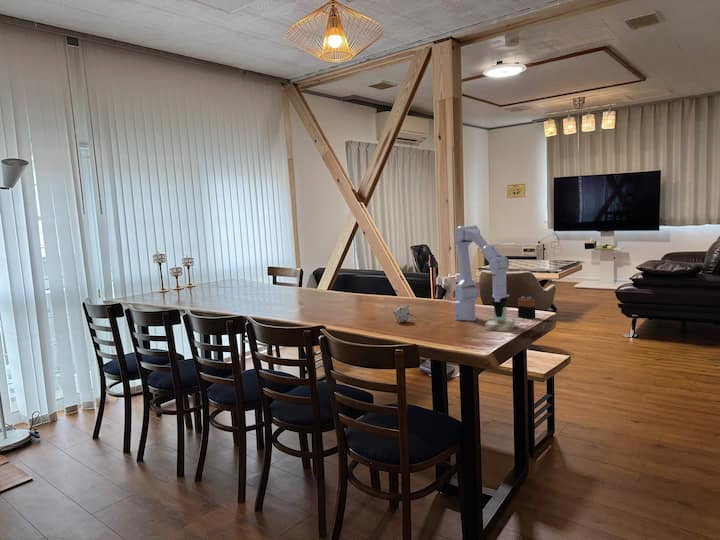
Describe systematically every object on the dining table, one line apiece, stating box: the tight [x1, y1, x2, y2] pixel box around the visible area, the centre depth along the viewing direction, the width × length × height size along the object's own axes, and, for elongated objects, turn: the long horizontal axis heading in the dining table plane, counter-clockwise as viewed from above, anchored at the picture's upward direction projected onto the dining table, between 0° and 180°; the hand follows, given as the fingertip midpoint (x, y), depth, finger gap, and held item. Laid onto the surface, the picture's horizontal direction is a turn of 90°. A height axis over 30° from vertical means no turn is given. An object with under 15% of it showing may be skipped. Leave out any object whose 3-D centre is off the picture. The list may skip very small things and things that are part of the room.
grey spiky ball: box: [392, 304, 414, 324], centre depth 238 cm, size 9×8×10 cm
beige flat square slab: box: [484, 318, 516, 332], centre depth 219 cm, size 11×11×3 cm
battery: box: [517, 295, 536, 320], centre depth 236 cm, size 4×7×10 cm, turn 36°
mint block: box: [493, 306, 507, 320], centre depth 218 cm, size 5×5×5 cm
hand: (499, 315), depth 218 cm, fingers closed on mint block, 5 cm apart
